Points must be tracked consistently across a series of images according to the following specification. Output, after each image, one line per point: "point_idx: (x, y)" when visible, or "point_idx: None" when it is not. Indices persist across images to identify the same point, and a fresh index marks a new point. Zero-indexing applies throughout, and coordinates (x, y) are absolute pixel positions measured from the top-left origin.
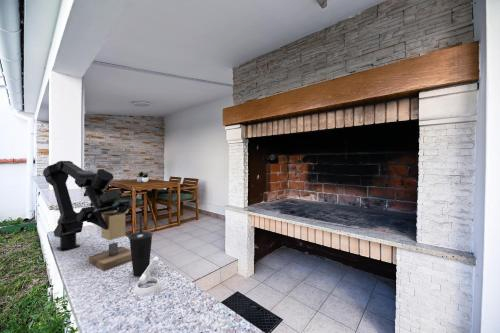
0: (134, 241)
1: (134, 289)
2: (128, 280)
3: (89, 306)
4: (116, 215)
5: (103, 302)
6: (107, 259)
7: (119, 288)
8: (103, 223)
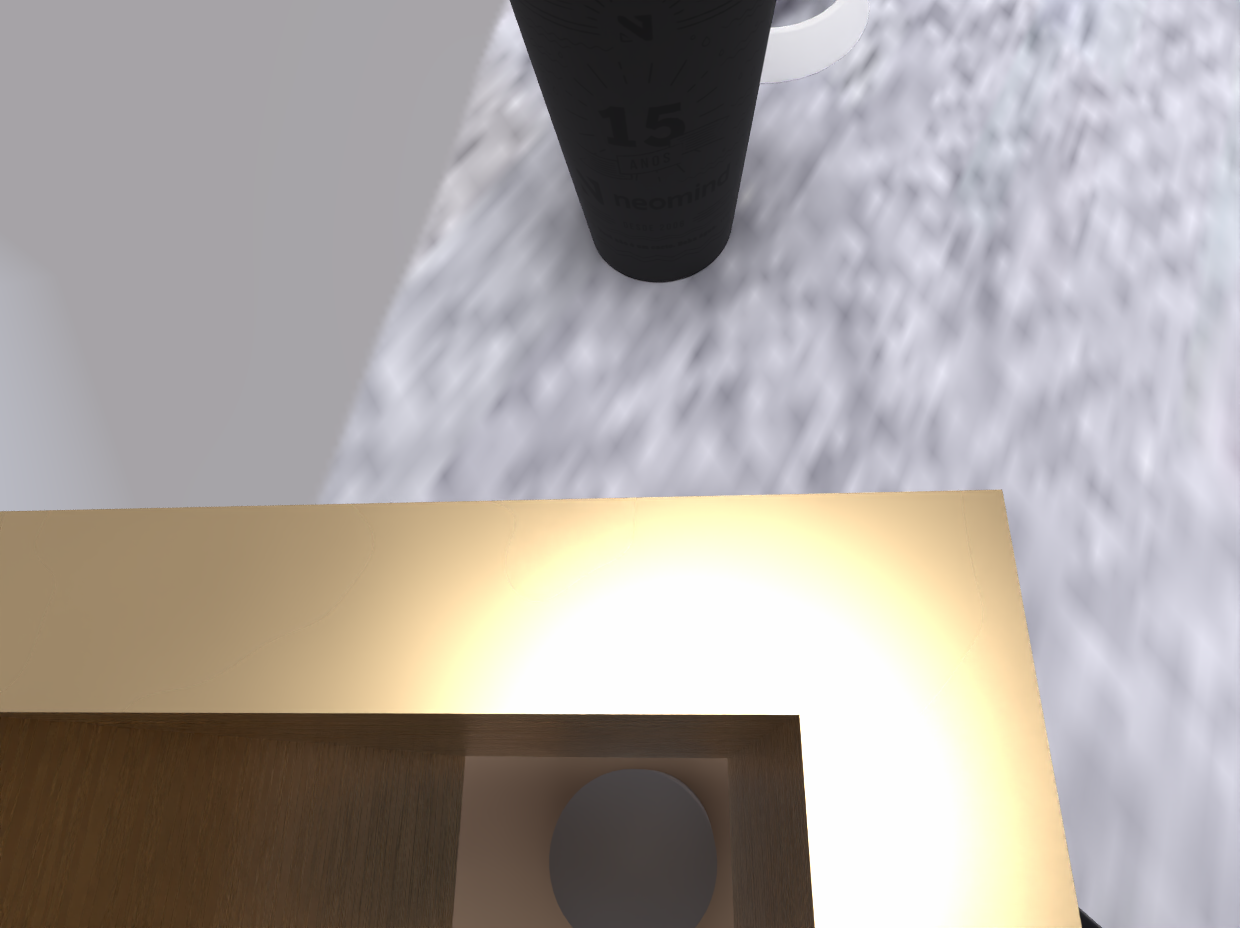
0: None
1: (861, 15)
2: (802, 201)
3: (1169, 91)
4: (459, 515)
5: (1076, 66)
6: None
7: (915, 145)
8: (1080, 909)
